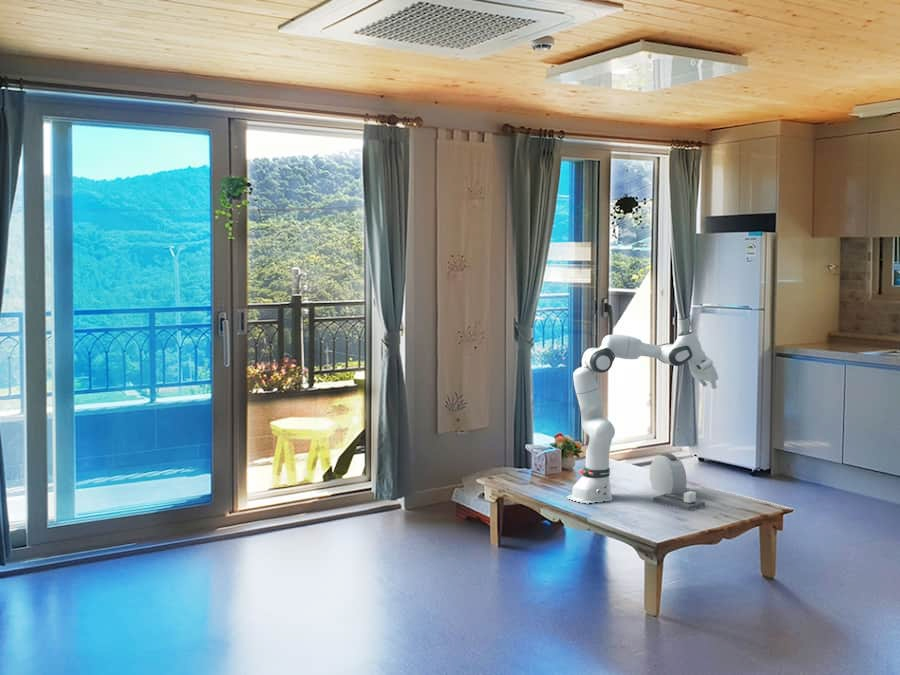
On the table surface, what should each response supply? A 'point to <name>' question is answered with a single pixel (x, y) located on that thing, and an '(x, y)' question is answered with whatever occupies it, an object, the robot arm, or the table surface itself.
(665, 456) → the alarm clock
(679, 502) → the fader deck
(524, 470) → the table surface
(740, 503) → the table surface
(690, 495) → the fader knob
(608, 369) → the robot arm
